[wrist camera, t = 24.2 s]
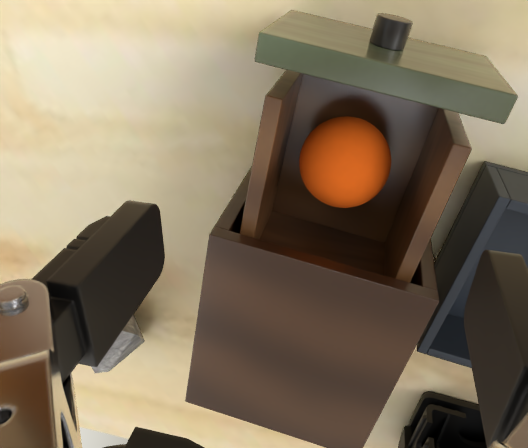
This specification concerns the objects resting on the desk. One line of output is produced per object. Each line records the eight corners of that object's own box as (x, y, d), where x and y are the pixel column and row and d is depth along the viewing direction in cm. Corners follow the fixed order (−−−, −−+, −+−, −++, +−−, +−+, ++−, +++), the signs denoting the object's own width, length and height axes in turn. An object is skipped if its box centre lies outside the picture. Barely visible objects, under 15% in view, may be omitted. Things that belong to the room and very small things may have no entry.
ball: (409, 119, 25) (397, 154, 21) (381, 194, 28) (366, 237, 24) (324, 93, 26) (298, 122, 22) (305, 168, 29) (279, 206, 25)
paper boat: (131, 381, 44) (28, 362, 42) (148, 313, 47) (51, 292, 45) (139, 379, 34) (0, 353, 31) (161, 291, 36) (34, 262, 34)
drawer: (296, -16, 24) (264, -1, 18) (497, 31, 23) (534, 64, 17) (252, 206, 32) (218, 269, 26) (403, 249, 31) (406, 325, 25)
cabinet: (253, 162, 31) (209, 234, 24) (427, 209, 30) (439, 301, 22) (225, 310, 39) (185, 401, 31) (364, 352, 37) (357, 458, 30)
